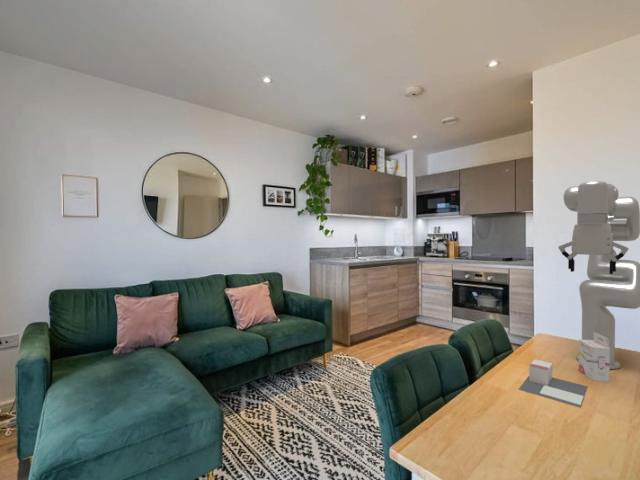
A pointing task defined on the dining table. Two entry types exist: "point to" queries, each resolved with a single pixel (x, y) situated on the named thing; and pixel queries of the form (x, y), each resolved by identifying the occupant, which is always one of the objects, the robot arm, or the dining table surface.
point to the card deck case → (540, 372)
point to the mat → (557, 391)
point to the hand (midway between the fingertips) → (591, 272)
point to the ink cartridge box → (595, 358)
